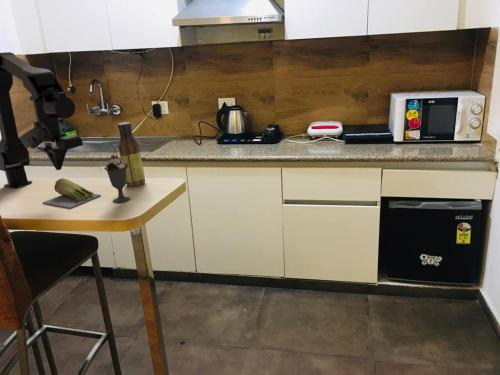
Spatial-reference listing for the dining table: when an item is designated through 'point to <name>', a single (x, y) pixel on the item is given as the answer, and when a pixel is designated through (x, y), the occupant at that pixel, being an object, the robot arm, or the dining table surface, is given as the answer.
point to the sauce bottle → (130, 155)
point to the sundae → (117, 176)
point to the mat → (69, 201)
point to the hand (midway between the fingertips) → (58, 169)
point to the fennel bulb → (71, 189)
